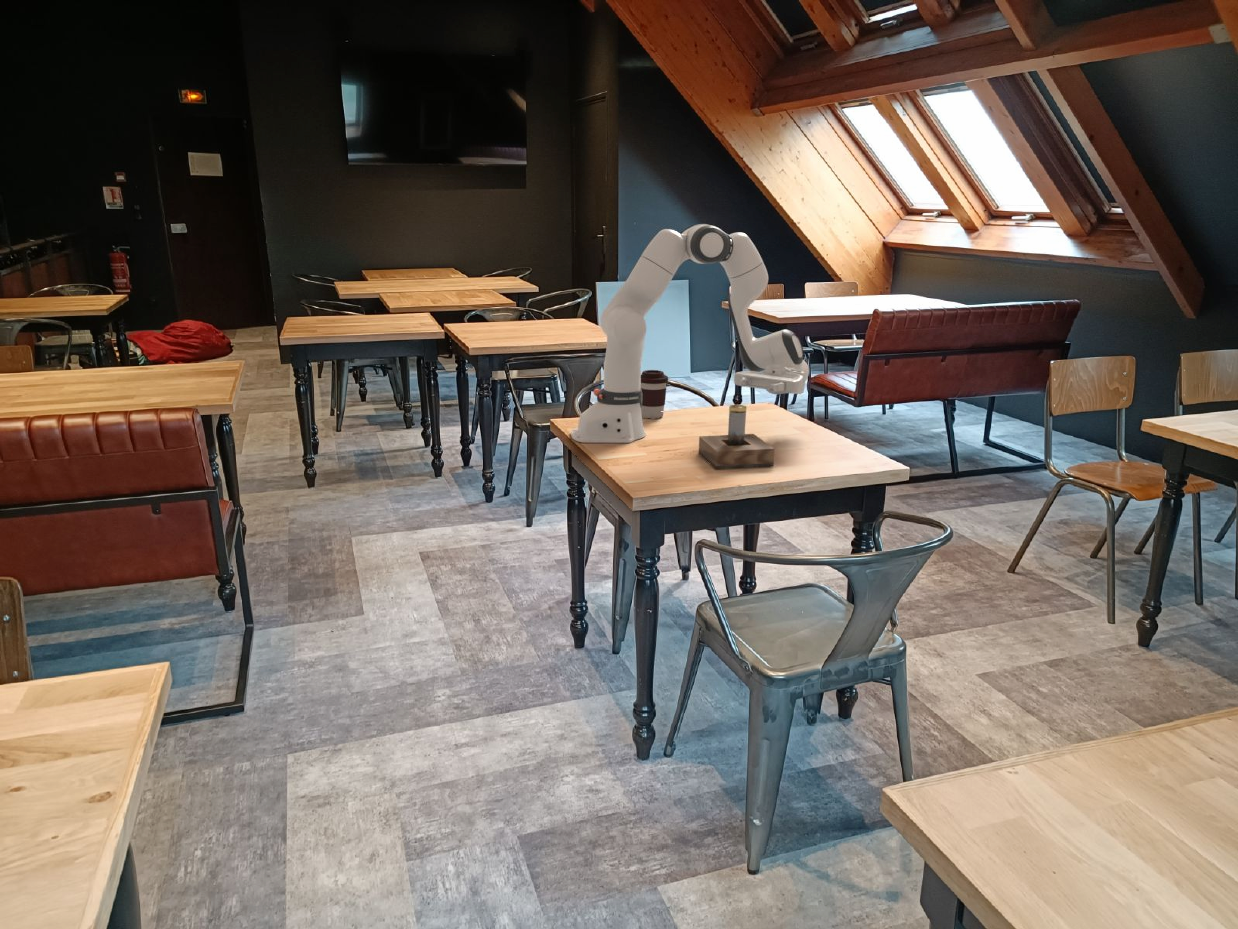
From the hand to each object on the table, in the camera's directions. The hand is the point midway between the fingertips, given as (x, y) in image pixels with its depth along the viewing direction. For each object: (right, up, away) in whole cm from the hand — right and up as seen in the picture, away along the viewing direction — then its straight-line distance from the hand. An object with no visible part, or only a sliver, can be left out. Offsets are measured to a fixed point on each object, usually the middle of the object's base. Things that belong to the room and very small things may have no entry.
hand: (756, 385), depth 252 cm
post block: (-7, -21, -8) cm, 24 cm away
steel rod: (-7, -20, -8) cm, 23 cm away
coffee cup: (-28, -7, +41) cm, 50 cm away
